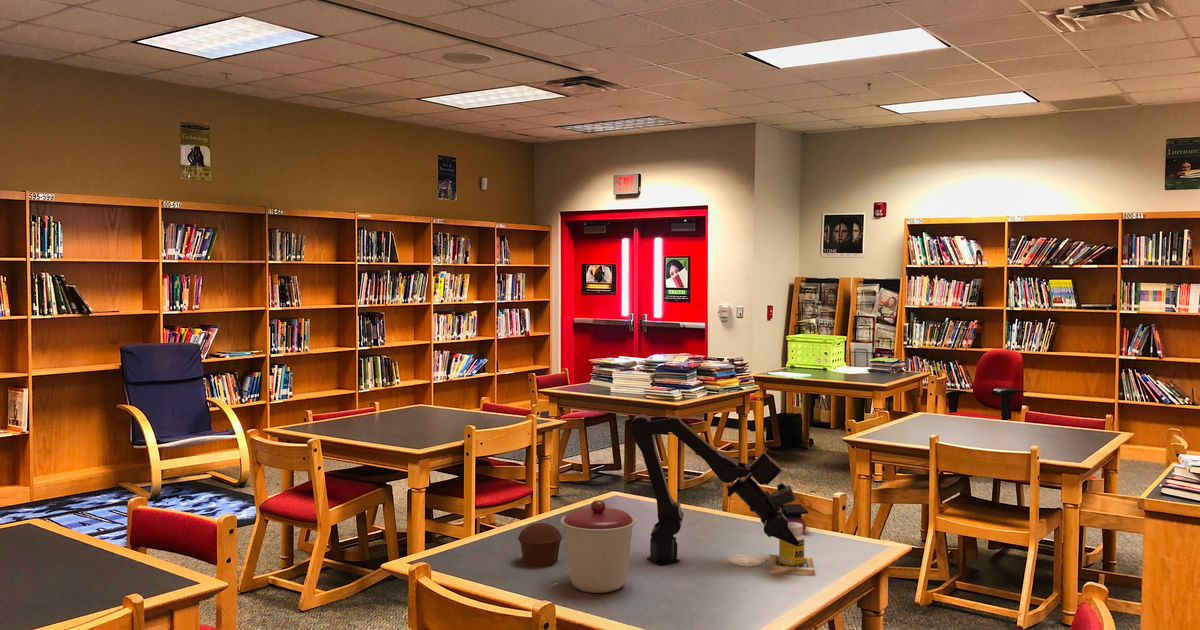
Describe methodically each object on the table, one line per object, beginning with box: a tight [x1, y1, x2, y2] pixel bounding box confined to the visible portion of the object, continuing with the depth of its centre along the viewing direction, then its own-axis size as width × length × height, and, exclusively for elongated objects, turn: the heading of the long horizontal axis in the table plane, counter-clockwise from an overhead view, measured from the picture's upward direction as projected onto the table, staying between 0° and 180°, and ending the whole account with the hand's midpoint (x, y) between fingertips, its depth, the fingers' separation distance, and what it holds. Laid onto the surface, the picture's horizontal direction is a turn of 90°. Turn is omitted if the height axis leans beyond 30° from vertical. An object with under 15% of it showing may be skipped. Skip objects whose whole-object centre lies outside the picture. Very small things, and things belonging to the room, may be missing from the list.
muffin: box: [517, 522, 563, 568], centre depth 239 cm, size 12×11×10 cm
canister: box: [560, 499, 636, 594], centre depth 220 cm, size 18×18×21 cm
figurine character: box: [780, 503, 809, 534], centre depth 272 cm, size 7×8×15 cm
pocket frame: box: [769, 554, 816, 577], centre depth 236 cm, size 11×11×2 cm
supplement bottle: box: [778, 522, 805, 567], centre depth 235 cm, size 6×6×11 cm
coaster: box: [728, 553, 764, 568], centre depth 241 cm, size 9×9×1 cm
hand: (797, 540), depth 235 cm, fingers closed on supplement bottle, 6 cm apart
